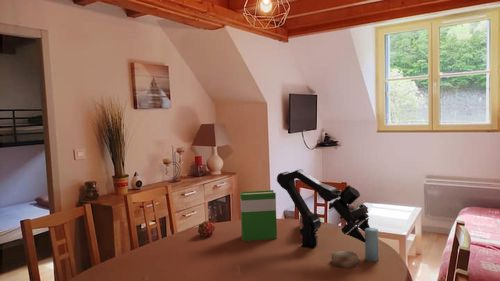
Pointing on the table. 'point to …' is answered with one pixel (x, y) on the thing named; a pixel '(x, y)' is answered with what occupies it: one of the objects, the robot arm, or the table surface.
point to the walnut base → (344, 259)
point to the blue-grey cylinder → (371, 244)
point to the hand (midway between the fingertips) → (369, 238)
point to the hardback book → (258, 215)
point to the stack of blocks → (302, 223)
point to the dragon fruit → (206, 229)
